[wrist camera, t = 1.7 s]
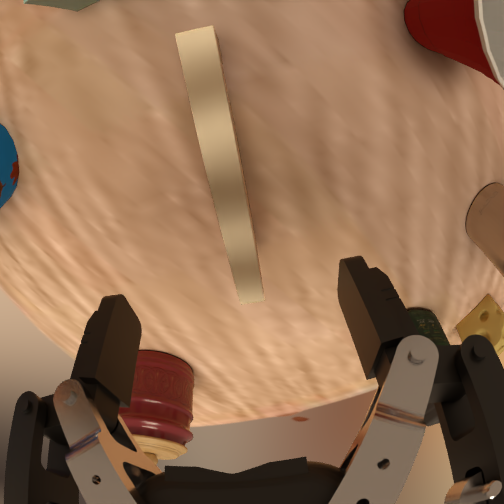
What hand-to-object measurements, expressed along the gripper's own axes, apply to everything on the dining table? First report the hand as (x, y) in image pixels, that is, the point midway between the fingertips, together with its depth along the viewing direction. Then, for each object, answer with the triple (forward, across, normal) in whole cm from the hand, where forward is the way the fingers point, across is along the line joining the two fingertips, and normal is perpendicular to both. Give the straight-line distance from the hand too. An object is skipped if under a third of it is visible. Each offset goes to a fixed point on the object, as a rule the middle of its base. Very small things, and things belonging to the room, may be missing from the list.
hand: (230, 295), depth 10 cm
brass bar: (+17, 0, 0) cm, 17 cm away
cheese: (+17, -45, +38) cm, 61 cm away
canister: (+17, +19, +33) cm, 41 cm away
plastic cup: (+17, -20, -11) cm, 29 cm away
